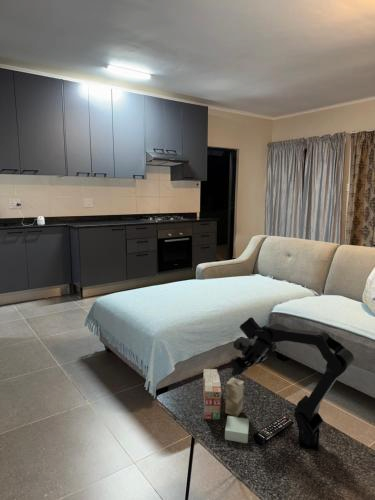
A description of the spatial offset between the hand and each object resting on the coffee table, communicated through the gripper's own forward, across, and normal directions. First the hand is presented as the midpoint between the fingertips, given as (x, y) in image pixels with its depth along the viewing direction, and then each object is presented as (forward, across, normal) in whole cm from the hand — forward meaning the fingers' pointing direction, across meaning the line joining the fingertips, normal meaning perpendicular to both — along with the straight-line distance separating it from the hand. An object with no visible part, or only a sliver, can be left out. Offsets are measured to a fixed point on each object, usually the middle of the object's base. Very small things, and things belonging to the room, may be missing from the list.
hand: (239, 370), depth 141 cm
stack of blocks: (+17, +8, +1) cm, 19 cm away
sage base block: (+7, +14, +17) cm, 23 cm away
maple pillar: (+11, +5, +10) cm, 16 cm away
